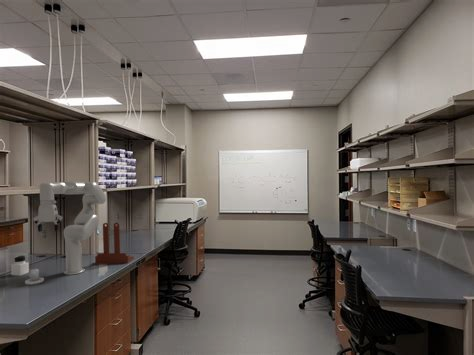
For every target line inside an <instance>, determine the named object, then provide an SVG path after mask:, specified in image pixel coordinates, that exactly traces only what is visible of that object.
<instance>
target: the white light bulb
mask: <svg viewBox="0 0 474 355" xmlns="http://www.w3.org/2000/svg"><path fill="white" fill-rule="evenodd" d="M27 275H28V278H29V279H30V281H36V280H39V277H40V269H39V268H33V269H29V273H27Z"/></svg>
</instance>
